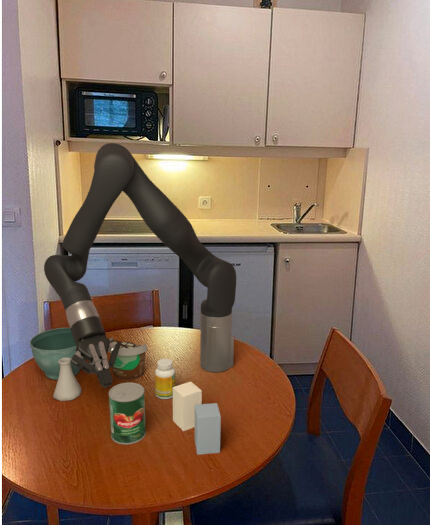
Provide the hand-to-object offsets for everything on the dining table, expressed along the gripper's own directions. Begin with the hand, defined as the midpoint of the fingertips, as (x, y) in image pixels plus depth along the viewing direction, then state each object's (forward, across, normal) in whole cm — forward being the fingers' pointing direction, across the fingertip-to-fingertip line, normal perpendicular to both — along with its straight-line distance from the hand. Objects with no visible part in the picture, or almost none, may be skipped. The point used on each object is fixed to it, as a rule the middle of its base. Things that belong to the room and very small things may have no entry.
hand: (107, 386), depth 107 cm
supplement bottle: (+6, -17, -7) cm, 19 cm away
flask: (-6, +4, -18) cm, 19 cm away
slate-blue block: (+22, -12, +10) cm, 27 cm away
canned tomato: (+12, -1, 0) cm, 12 cm away
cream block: (+15, -14, +3) cm, 21 cm away
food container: (-6, -13, -18) cm, 23 cm away
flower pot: (-14, 0, -27) cm, 31 cm away
